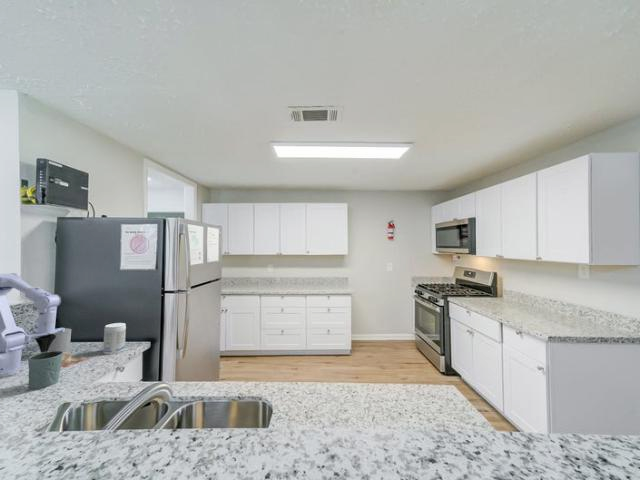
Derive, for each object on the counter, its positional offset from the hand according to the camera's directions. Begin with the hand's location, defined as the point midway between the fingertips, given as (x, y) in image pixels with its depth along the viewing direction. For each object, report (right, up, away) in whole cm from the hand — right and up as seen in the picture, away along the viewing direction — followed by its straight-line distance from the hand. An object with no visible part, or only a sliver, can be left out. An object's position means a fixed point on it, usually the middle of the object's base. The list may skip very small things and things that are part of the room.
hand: (44, 352), depth 124 cm
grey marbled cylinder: (-13, -10, +20) cm, 26 cm away
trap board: (+2, -9, +11) cm, 14 cm away
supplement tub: (+12, -11, +26) cm, 30 cm away
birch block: (+1, -9, +7) cm, 11 cm away
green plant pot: (+13, -8, -13) cm, 20 cm away
